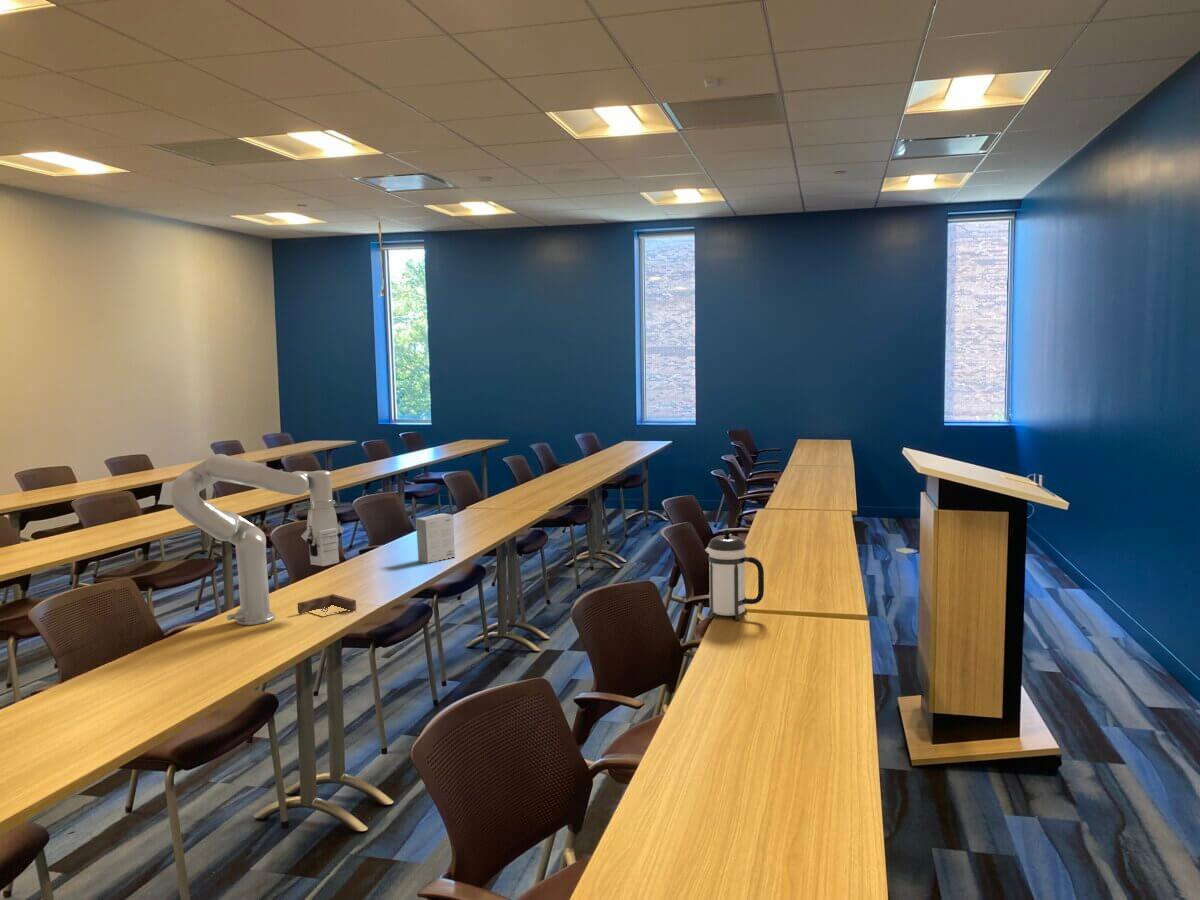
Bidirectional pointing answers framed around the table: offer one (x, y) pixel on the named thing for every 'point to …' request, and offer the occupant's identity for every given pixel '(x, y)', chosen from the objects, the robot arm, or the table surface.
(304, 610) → the arena
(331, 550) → the supplement box
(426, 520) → the hard drive box
